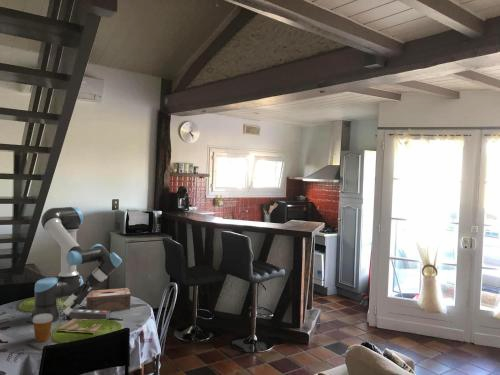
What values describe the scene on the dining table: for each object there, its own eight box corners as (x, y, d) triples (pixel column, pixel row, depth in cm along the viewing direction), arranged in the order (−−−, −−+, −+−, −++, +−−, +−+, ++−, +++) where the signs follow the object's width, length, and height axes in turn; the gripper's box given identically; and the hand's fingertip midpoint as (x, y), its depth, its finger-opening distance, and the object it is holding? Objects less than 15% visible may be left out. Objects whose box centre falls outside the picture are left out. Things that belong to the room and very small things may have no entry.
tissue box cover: (86, 313, 245) (86, 297, 244) (86, 306, 258) (86, 291, 258) (130, 309, 255) (130, 293, 255) (127, 302, 268) (128, 287, 268)
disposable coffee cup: (27, 341, 202) (27, 317, 201) (43, 334, 211) (43, 312, 210) (41, 344, 198) (42, 320, 198) (57, 337, 207) (57, 314, 207)
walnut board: (58, 331, 215) (58, 328, 215) (73, 321, 231) (73, 318, 231) (94, 333, 214) (94, 331, 214) (107, 323, 230) (107, 320, 230)
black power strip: (69, 318, 234) (69, 311, 234) (74, 315, 240) (75, 308, 240) (121, 321, 232) (121, 314, 232) (125, 318, 238) (125, 310, 238)
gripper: (104, 288, 204) (71, 321, 198) (99, 276, 227) (70, 305, 221) (93, 278, 202) (60, 311, 196) (89, 268, 224) (59, 297, 218)
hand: (65, 308), depth 208 cm, fingers open, 13 cm apart
